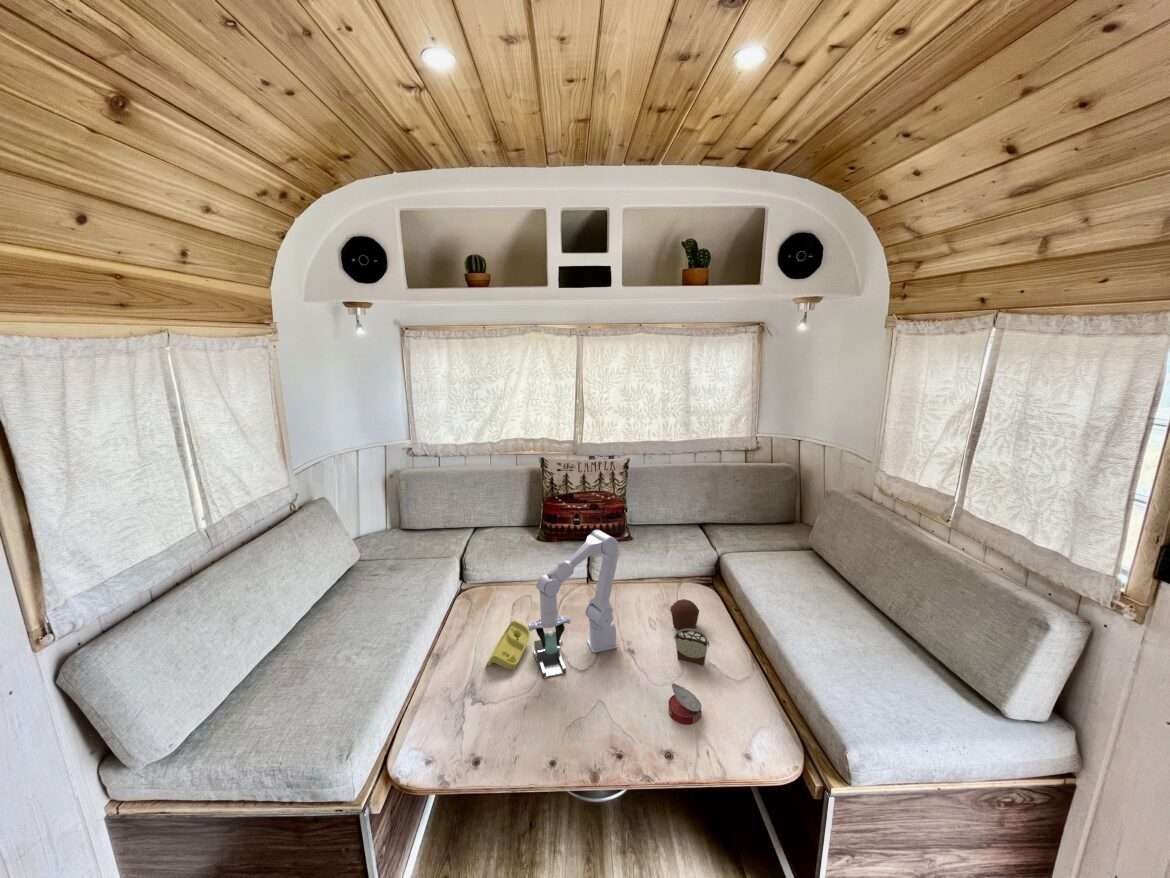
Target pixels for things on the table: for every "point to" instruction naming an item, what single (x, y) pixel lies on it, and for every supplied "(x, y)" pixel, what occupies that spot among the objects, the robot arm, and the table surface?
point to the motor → (549, 660)
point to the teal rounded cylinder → (550, 642)
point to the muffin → (684, 614)
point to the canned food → (684, 706)
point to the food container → (691, 646)
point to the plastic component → (510, 646)
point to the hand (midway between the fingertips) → (550, 644)
